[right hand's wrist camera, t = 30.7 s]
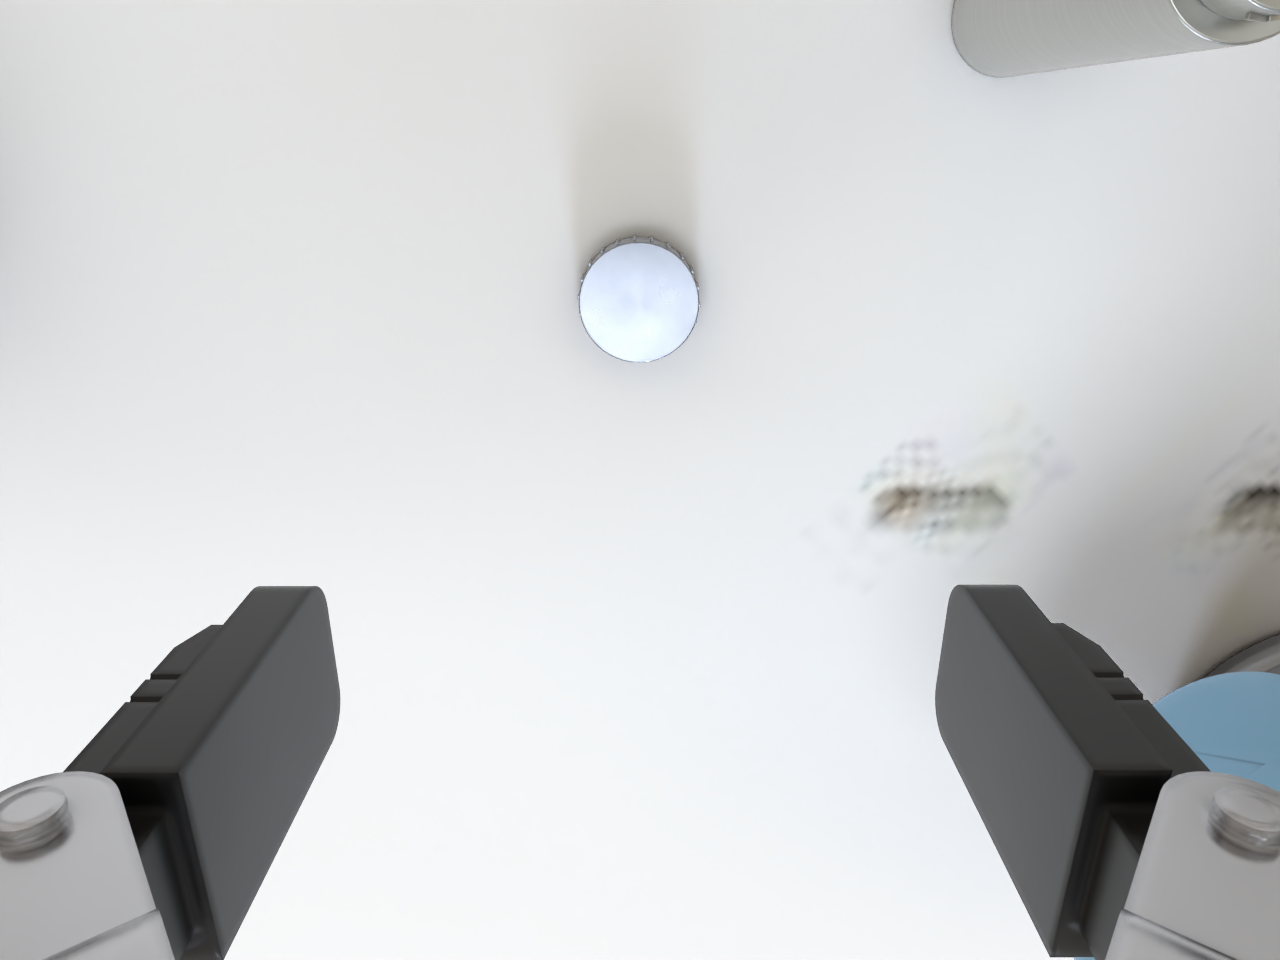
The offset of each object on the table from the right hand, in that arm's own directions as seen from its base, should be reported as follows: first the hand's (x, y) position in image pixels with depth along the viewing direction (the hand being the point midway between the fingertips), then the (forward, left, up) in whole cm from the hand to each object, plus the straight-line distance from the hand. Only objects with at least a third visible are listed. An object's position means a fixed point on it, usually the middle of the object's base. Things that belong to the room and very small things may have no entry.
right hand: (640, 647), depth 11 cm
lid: (0, 0, -25) cm, 25 cm away
